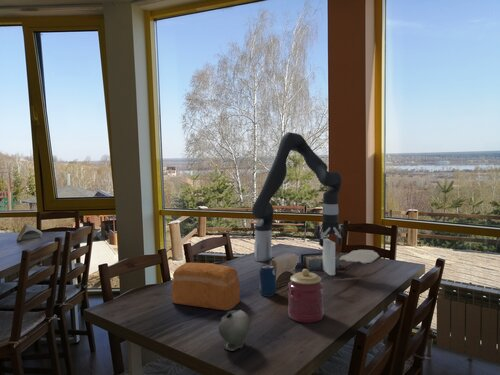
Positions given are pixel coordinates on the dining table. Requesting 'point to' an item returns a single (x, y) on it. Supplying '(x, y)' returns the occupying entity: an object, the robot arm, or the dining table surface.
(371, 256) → the stone tablet
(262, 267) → the soda can
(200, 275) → the bread
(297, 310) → the canister
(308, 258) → the offcut block left
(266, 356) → the dining table surface
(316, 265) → the metal rack
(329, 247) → the cream board
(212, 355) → the dining table surface
